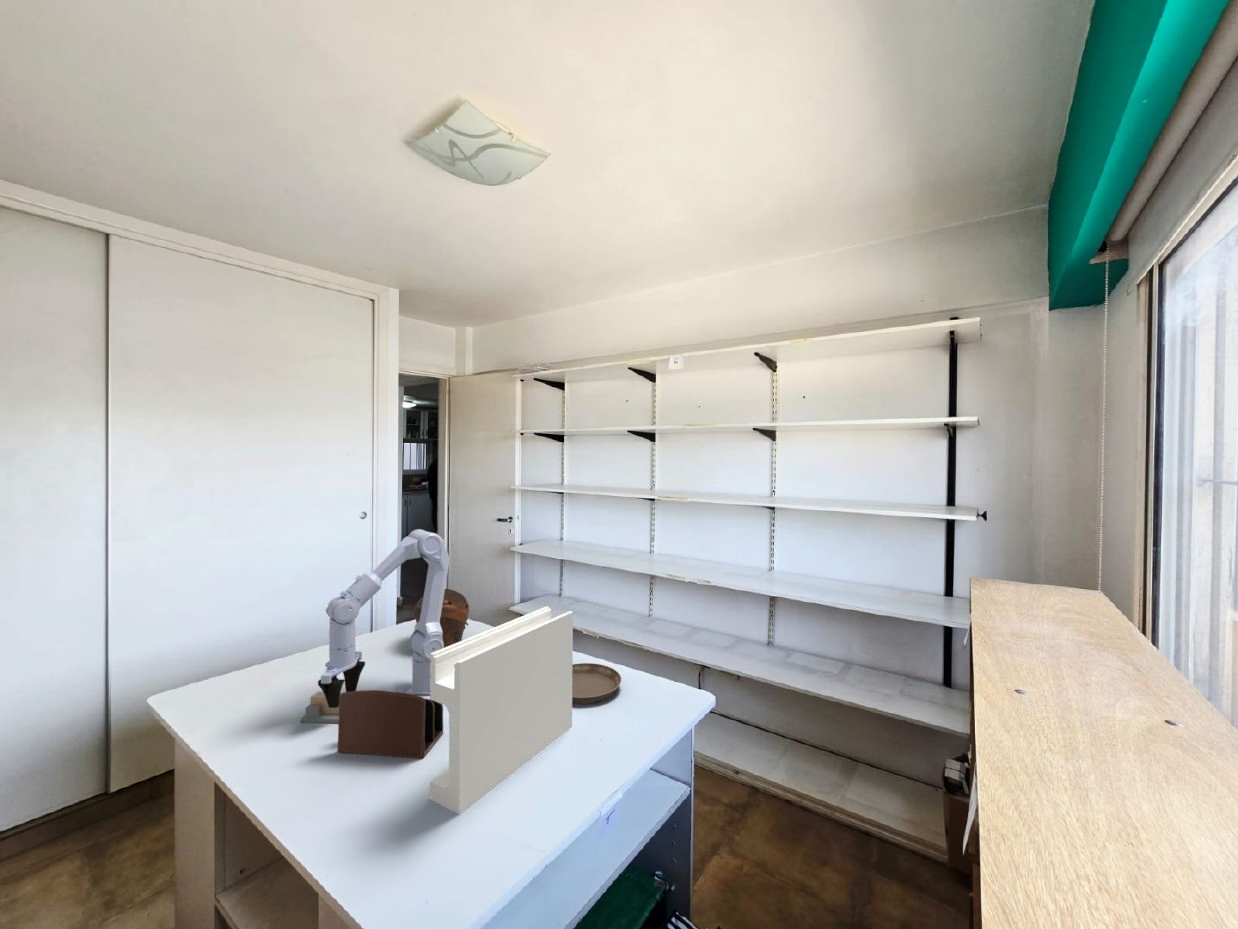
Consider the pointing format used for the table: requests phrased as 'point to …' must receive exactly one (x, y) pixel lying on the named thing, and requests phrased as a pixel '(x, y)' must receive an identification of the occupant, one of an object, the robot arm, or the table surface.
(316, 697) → the light brown rectangular bar
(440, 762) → the table surface
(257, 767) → the table surface
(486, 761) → the white panel with ledge
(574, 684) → the plant saucer
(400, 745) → the letter holder
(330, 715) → the plate with corner studs
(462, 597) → the case
